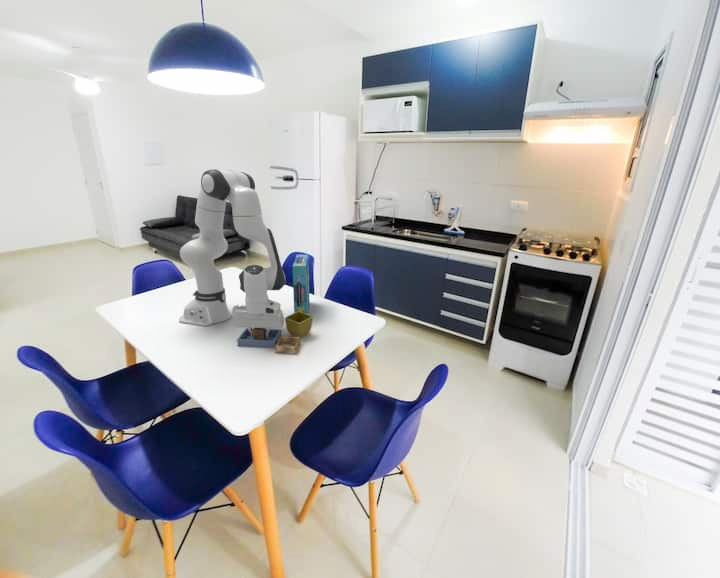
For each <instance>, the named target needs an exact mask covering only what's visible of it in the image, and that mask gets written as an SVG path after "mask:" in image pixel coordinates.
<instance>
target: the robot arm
mask: <svg viewBox="0 0 720 578" xmlns="http://www.w3.org/2000/svg"><path fill="white" fill-rule="evenodd" d="M200 185H201V186H200V189H199V192H198V196H197V201H196V206H195V208H196V209H195V216H194V223H195V226H197V227H198V228H199V237H198V238H195V239H192V240H189V241H188V242H186V243H185V244H184V245H182V246H181V248H180V250H179V256H180V259H181V261H182V262H183V263H185V264H186V265H187V266H189V267H190V268H191V270H192V272H193V274H194V276H195V277H194V278H195V282H196V287H197V290H195V291H194V292H193V294H192V297H194V299H192V300H191V301H190V302H189V303H187V304H186V305H185V306H184V307H183V314H182V315H180V317H179V319H178V322H179V323H183V324H189V325H196V326H202V327H208V326H212V325H214V324H219V323H222V322H225V321H227V320H229V319H230V317H231V313H230V310H229V308H228V304H227V301H226V300H227V297H226V296H227V295H226V289H225V288H224V281H223V279H224V278H223V273H222V272H221V270H219V269H217V267H216V265H215V262H214V260H216V259H218V258H220V257H222V256H223V255H224V254H225V253H226V252H227V250H228V248H229V244H228V241H227V239H226V238H225V236H224V222H225V221H224V218H225V212H226V204H227V201H228V202H229V203H230V205H231V208H232V209H231V210H232V221H233V226H234V230H235V232H237V234H238V235H239V236H241V237H243V238H245V239H247V240H250V241H255V242H256V243H257V242H258V243H260V244H262V245H263V246H264V247H265V248H266V251H267V255H268V259H269V263H270V266H269V267H263V266H261V265H258V264H252V265H248V266H246V267H245V268H244V269H243V270H242V271H241V272H240V273H239V274H238V279H239V283H240V287H239V288H240V289H239V290H241V291H242V292H244V293H245V299H244V301H245V303H244V304H241V305H240V304H235V305H234V306H233V307H232V314H233V316H232V317H233V321H232V322H233V324H232V325H233V326H234V327H235V328H248V331H249V332H250V333H251V337H254V336H253V329H252V328H266V330H268V331H267V332H265V333H264V337H268V336H269V331H270V329H279V330H282V328H283V327H284V325H285V317H284V313H283V310H282V309H281V303H279V302H277V301H274V300H272V299H269V296H268V291H280V290H282V289H283V288H284V286H285V285H286V275H285V272H284V270H283V266H282V264H281V258H280V256H279V251H278V248H277V244H276V241H275V237H274V234H273V232H272V230H271V229H270V228H268V227H266V224H265V223H264V220H263V216H262V215H263V214H262V208H261V207H262V206H261V203H260V199H259V195H258V193H257V191H256V183H255V180H254V179H253V177H252V176H251V175H250V174H248V173H246V172H244V171H235V170H231V169H216V168H215V169H207V170H205V171H204V172H203V173H202V175H201V179H200Z"/></svg>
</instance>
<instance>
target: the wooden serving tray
mask: <svg viewBox="0 0 720 578" xmlns="http://www.w3.org/2000/svg"><path fill="white" fill-rule="evenodd" d="M301 342H302V341H301V338H300V337H294V336H283V335H282V336H281V337H280V338H279V340H278V342H277V344H276V346H275V348H274V350H275V352H274V353H275V354H278V355H279V354H281V355H297V354H298V351H299V349H300V346H301Z"/></svg>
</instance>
